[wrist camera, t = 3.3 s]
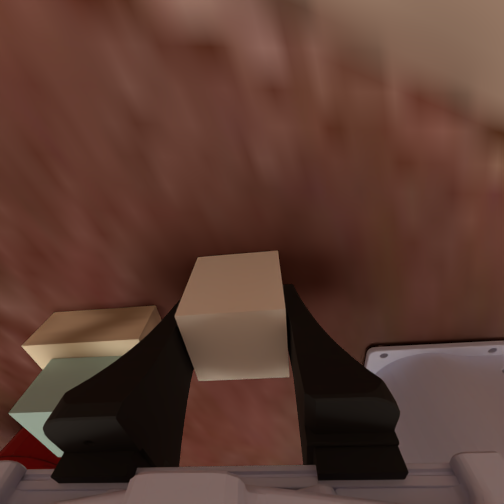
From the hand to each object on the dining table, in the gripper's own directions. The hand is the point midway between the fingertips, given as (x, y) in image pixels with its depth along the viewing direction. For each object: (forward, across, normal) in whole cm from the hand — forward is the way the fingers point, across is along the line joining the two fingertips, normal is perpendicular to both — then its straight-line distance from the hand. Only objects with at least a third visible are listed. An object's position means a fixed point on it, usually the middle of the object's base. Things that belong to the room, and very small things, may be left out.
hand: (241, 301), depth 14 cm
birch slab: (+2, +9, +5) cm, 11 cm away
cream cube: (+1, 0, 0) cm, 1 cm away
